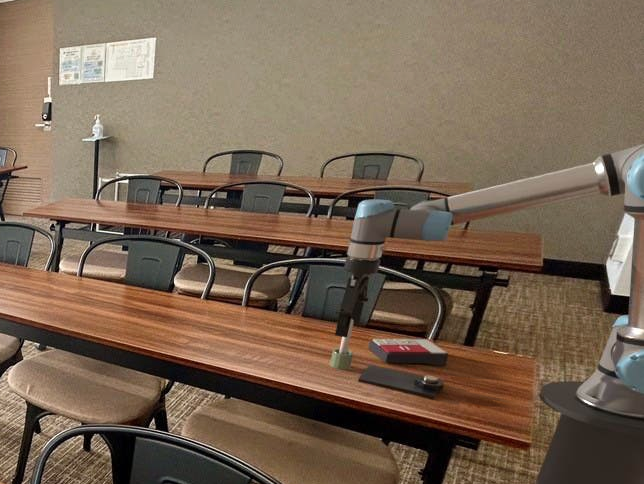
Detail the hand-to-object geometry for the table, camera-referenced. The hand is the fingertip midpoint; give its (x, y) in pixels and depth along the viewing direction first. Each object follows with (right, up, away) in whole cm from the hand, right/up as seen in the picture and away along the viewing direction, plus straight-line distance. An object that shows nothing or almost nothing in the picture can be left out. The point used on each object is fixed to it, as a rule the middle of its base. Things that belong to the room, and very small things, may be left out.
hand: (347, 329), depth 165 cm
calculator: (+23, -9, +7) cm, 26 cm away
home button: (+13, -14, -12) cm, 23 cm away
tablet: (+9, -15, -7) cm, 19 cm away
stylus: (+1, -11, +4) cm, 12 cm away
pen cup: (+1, -11, +4) cm, 12 cm away
